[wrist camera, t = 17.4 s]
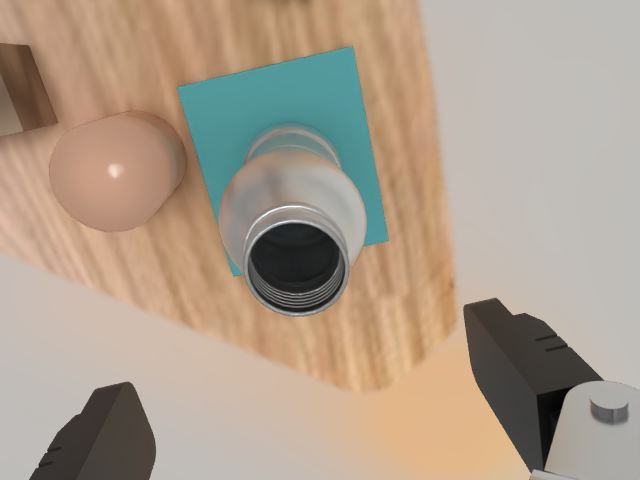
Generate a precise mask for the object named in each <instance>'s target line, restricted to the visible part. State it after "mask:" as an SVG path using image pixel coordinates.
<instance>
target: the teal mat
mask: <svg viewBox="0 0 640 480" xmlns="http://www.w3.org/2000/svg"><path fill="white" fill-rule="evenodd" d="M177 90H178V93H179V96H180V100H181V103H182V106H183V110H184V113H185V116H186V120H187V123H188V126H189V130H190V133H191V136H192V140H193V143H194V147H195V150H196V153H197V157H198V160H199V163H200V167H201V170H202V173H203V177H204V180H205V183H206V187H207V190H208V193H209V197H210V200H211V203H212V207H213V210H214V214H215V217H216V220H217V224H218V227H219V221H218V214H219V206H220V201H221V198H222V196H223V193H224V190H225V188H226V187H227V185H228V183H229V182H230V180H231V179H232V177H233V176H234V175H235V174H236V173H237V172H238V171H239V170H240V169H241V168H242V162H243V157H244V154H245V151H246V149H247V147H248V145H249V144H250V142H251V141H252V140H253V138H254V137H255V136H256V135H257V134H258V133H260V132H261V131H263V130H264V129H266V128H268V127H270V126H273V125H275V124H280V123H285V122H289V123H300V124H304V125H307V126H310V127H312V128H314V129H316V130H318V131H319V132H320V133H322V134H323V135H324V136H325V137H326V138H327V139H328V140H329V141H330V142H331V143H332V145H333V146H334V148H335V149H336V151H337V153H338V155H339V158H340V161H341V166H342V171H343V172H344V173H345V174H346V175H347V176H348V177H349V178H350V179H351V180H352V182H353V183H354V185H355V186H356V188H357V189H358V191H359V193H360V196H361V198H362V201H363V203H364V207H365V212H366V217H367V223H366V235H365V240H364V245H363V246H367V245H372V244H376V243H380V242H385V241H389V239H388V234H387V228H386V223H385V217H384V212H383V207H382V201H381V196H380V191H379V185H378V180H377V174H376V169H375V164H374V158H373V153H372V147H371V142H370V137H369V131H368V126H367V120H366V115H365V110H364V104H363V99H362V93H361V88H360V83H359V77H358V72H357V66H356V61H355V56H354V50H353V46H352V47H347V48H343V49H339V50H335V51H330V52H326V53H322V54H317V55H313V56H309V57H304V58H300V59H296V60H291V61H287V62H283V63H279V64H274V65H270V66H266V67H261V68H257V69H253V70H248V71H244V72H240V73H235V74H231V75H227V76H223V77H218V78H214V79H210V80H205V81H201V82H197V83H192V84H188V85H184V86H179V87H177ZM225 250H226V248H225ZM226 254H227V257H228V260H229V264H230V267H231V270H232V274H233V276H237V275H242V274H243V273H242V272H241V271H240V270H239V269H238V267H237V266H236V265H235V264H234V262H233V261H232V259H231V258H230V256H229V254H228V252H227V250H226Z"/></svg>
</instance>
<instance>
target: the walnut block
mask: <svg viewBox="0 0 640 480" xmlns="http://www.w3.org/2000/svg"><path fill="white" fill-rule="evenodd" d="M55 123H58V121H57V119H56V116H55V113H54V111H53V108H52V106H51V103H50V100H49V98H48V95H47V92H46V90H45V87H44V84H43V82H42V79H41V77H40V74H39V71H38V69H37V66H36V63H35V61H34V58H33V56H32V53H31V50H30V48H29V46H27V45H15V44H3V43H0V137H2V136H6V135H10V134H15V133H19V132H23V131H27V130H31V129H35V128H39V127H43V126H47V125H51V124H55Z"/></svg>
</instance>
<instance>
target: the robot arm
mask: <svg viewBox="0 0 640 480" xmlns="http://www.w3.org/2000/svg"><path fill="white" fill-rule="evenodd" d="M463 311H464V320H465V327H466V335H467V342H468V349H469V356H470V362H471V367H472V371H473V374H474V377H475V380H476V383H477V385H478V387H479V388H480V390H481V392H482V394H483V395H484V397H485V399H486V400H487V402H488V404H489V405H490V407H491V408H492V410H493V412H494V413H495V415H496V417H497V418H498V420H499V422H500V423H501V425H502V426H503V428H504V430H505V431H506V433H507V435H508V436H509V438H510V440H511V441H512V443H513V444H514V446H515V448H516V449H517V451H518V453H519V454H520V456H521V458H522V459H523V461H524V462H525V464H526V466H527V467H528V469H529V471H530V472H531V476H530V479H529V480H640V391H639V390H637V389H636V388H633V387H631V386H628V385H625V384H622V383H617V382H611V381H604V380H603V379H602V378H601V377H600V376H599V375H598V374H597V373H596V372H595V371H594V370H593V369H592V368H591V367H590V366H589V365H588V364H587V363H586V362H585V361H584V360H583V359H582V358H581V357H580V356H579V355H578V354H577V353H576V352H575V351H574V350H573V349H572V348H570V347H568V345H567V343H565V341H563V340H562V339H561V338H560V337H558V336H557V334H556V333H555V332H554V331H553V330H552V329H551V328H550V327H549V326H548V325H547V324H546V323H545V322H544V321H542V320H539V319H537V318H535V317H533V316H530V315H528V314H526V313H523V314H518V315H512V314H511V313H510V312H509V311H508V310H507V308H506V307H505V306H504V305H503V304H502V303H501V302H500V301H499V300H498V299H497V298H493V299H489V300H484V301H479V302H475V303H471V304H466V305H465V306H464V310H463ZM47 451H48V452H47V453H45V454H44V456H43V458H42V460H41V461H40V463H39V468H36V469H35V471H34V473H33V474H32V476H31V477H30V479H29V480H149V478H150V475H151V471H152V469H153V465H154V462H155V456H156V446H155V438H154V435H153V432H152V429H151V427H150V424H149V422H148V419H147V417H146V414H145V412H144V409H143V407H142V404H141V402H140V399H139V397H138V395H137V392H136V390H135V388H134V386H133V385H132V384H131V383H130V382H123V383H119V384H115V385H111V386H106V387H102V388H97V389H95V390H94V392H93V393H92V395H91V397H90V398H89V400H88V402H87V404H86V405H85V407H84V409H83V411H82V412H81V414H79V415H76V416H75V417H73V418H72V419H71V420H70V421H69V422H68V423H67V424H66V425H65V426H64V427H63V428H62V429H61V430H60V431H59V432H58V433H57V435H56V436H55V438H54V440H53V441H52V443H51V444H50V446H49V448H48V450H47Z"/></svg>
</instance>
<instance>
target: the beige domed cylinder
mask: <svg viewBox="0 0 640 480" xmlns="http://www.w3.org/2000/svg"><path fill="white" fill-rule="evenodd" d="M185 169H186V153H185V149H184V146H183V143H182V141H181V139H180V137H179V135H178V134H177V133H176V131H175V130H174V129H173V128H172V127H171V126H170V125H169V124H168V123H167V122H165V121H164V120H163V119H161V118H159V117H157V116H155V115H153V114H150V113H146V112H141V111H129V112H123V113H120V114H116V115H113V116H109V117H106V118H103V119H99V120H96V121H92V122H89V123H85V124H82V125H79V126H77V127H75V128H73V129H72V130H70V131H69V132H67V133H66V134H65V135H64V136H63V137H62V138H61V139H60V140H59V142H58V143H57V145H56V146H55V148H54V150H53V153H52V155H51V159H50V165H49V177H50V182H51V186H52V189H53V192H54V194H55V196H56V198H57V200H58V201H59V203H60V204H61V206H62V207H63V208H64V209H65V211H66V212H67V213H68V214H70V215H71V216H72V217H73V218H74V219H76V220H77V221H79V222H80V223H82V224H84V225H86V226H88V227H90V228H93V229H96V230H100V231H105V232H121V231H127V230H130V229H134V228H136V227H138V226H140V225H142V224H143V223H145V222H146V221H147V220H149V219H150V218H151V217H152V216H153V215H154V213H155V212H156V211H157V210H158V209H159V208H160V206H161V205H162V204H163V203H164V202H165V201H166V200H167V198H168V197H169V196H170V195H171V194H172V193H173V192H174V190H175V189H176V188H177V187H178V186H179V184H180V183H181V181H182V179H183V176H184V173H185Z"/></svg>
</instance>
